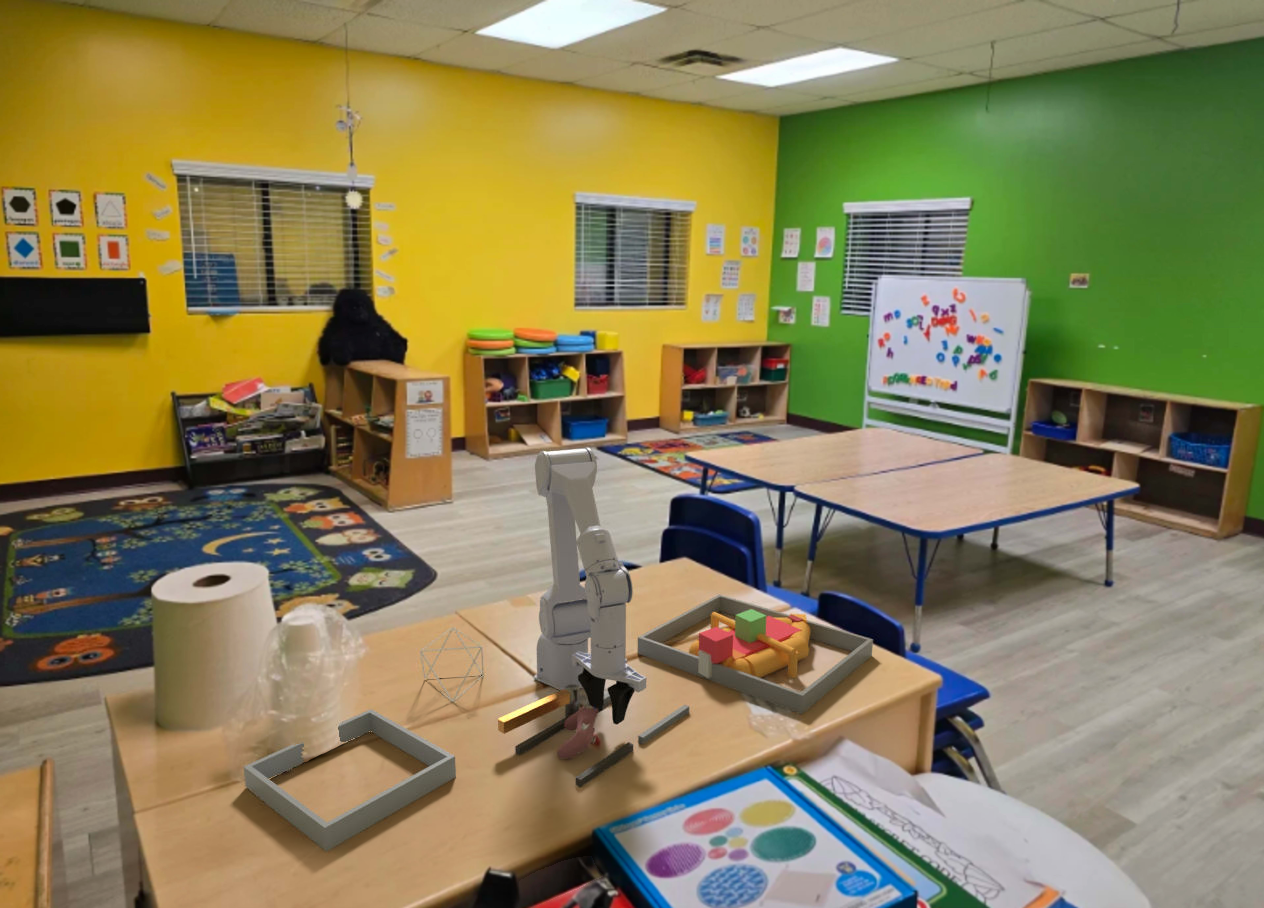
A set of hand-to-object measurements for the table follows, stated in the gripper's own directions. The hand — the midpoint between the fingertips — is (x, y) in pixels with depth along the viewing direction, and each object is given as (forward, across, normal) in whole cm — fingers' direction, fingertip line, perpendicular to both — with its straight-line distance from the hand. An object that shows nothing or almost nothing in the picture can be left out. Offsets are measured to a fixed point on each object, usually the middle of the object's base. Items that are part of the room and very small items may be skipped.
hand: (607, 716), depth 140 cm
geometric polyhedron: (+3, +32, +6) cm, 33 cm away
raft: (+3, -4, -40) cm, 40 cm away
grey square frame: (+3, +20, +35) cm, 41 cm away
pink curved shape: (+3, +1, +6) cm, 7 cm away
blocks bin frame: (+3, -4, -41) cm, 41 cm away
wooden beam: (+2, +8, +8) cm, 11 cm away
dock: (+3, 0, 0) cm, 3 cm away
